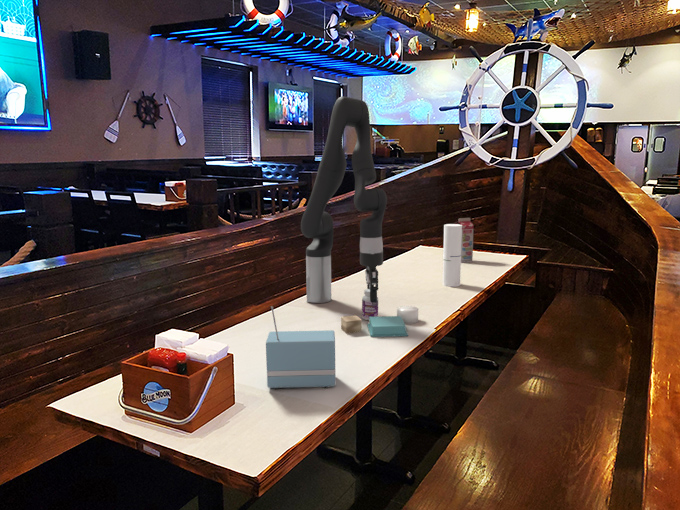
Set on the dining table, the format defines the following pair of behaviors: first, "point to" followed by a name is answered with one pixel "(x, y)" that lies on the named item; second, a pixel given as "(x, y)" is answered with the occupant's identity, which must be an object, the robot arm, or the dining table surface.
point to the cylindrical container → (452, 255)
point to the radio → (300, 358)
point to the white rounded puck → (408, 314)
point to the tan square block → (351, 324)
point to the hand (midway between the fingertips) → (372, 298)
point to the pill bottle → (369, 306)
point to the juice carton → (466, 239)
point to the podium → (386, 326)
